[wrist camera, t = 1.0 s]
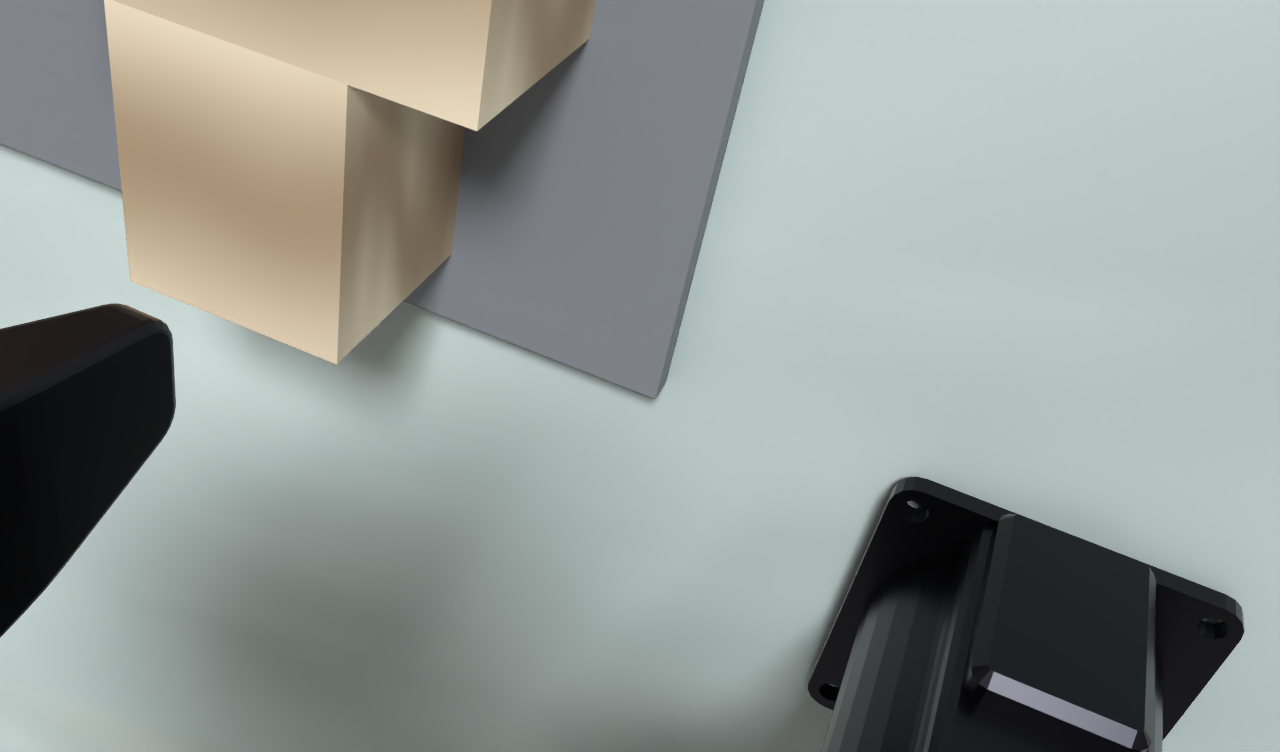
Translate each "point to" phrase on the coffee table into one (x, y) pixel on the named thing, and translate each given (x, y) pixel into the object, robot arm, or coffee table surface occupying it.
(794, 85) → the coffee table surface
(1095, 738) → the robot arm
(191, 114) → the t block
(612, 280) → the slate mat
